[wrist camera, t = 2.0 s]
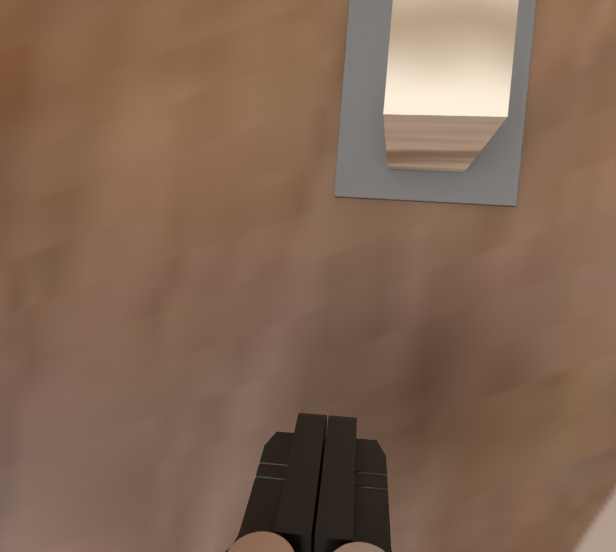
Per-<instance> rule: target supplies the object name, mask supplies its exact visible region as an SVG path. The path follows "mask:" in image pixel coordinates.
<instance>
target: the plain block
mask: <svg viewBox="0 0 616 552" xmlns="http://www.w3.org/2000/svg"><path fill="white" fill-rule="evenodd" d="M518 3H519V0H393V4H392V16H391V28H390V40H389V52H388V64H387V76H386V87H385V99H384V111H383V117H384V130H385V143H386V156H387V169H398V170H422V171H445V172H465V171H466V169H467V168H468V167H469V165H470V164H471V163H472V162H473V160H474V159H475V158H476V157H477V155H478V154H479V153H480V151H481V150H482V149H483V148H484V146H485V145H486V144H487V143H488V141H489V140H490V139H491V137H492V136H493V135H494V134H495V132H496V131H497V130H498V128H499V127H500V126H501V125H502V123H503V122H504V121H505V120H506V118H507V117H508V108H509V97H510V87H511V76H512V66H513V55H514V45H515V35H516V24H517V14H518Z"/></svg>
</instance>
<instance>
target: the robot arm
mask: <svg viewBox="0 0 616 552" xmlns="http://www.w3.org/2000/svg"><path fill="white" fill-rule="evenodd" d="M356 423H357V418H353V417H341V416H329V418H328V426H327V415H318V414H306V413H299V414H298V418H297V423H296V428H295V432H294V433H287V432H276V433H275V434H274V435H273V437H272V438H271V439H270V440H269V441H268V442H267V443H266V444H265V446H264V449H263V453H262V456H261V460H260V465H259V467H258V470H257V474H256V479H255V481H254V484H253V487H252V491H251V494H250V498H249V501H248V505H247V508H246V512H245V515H244V519H243V522H242V525H241V529H240V532H239V534H238V537H237V538H236V540H235V542H234V543H233V544H232V546H231V547H230V548H229V549H228V550H227V551H226V552H392V551H391V539H390V522H389V504H388V486H387V468H386V456H385V454H384V452H383V451H382V449H381V447H380V445H379V444H378V442H377V440H365V439H356ZM326 429H327V435H326Z"/></svg>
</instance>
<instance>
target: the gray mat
mask: <svg viewBox="0 0 616 552" xmlns="http://www.w3.org/2000/svg"><path fill="white" fill-rule="evenodd" d="M392 4H393V0H350V1H349V14H348V26H347V39H346V51H345V64H344V77H343V89H342V102H341V115H340V127H339V140H338V152H337V165H336V178H335V190H334V196H335V197H345V198H364V199H382V200H401V201H419V202H438V203H456V204H474V205H493V206H511V207H515V206H516V204H517V193H518V183H519V173H520V163H521V152H522V142H523V132H524V122H525V111H526V101H527V91H528V81H529V70H530V60H531V50H532V39H533V29H534V19H535V9H536V0H519V3H518V14H517V24H516V35H515V45H514V55H513V66H512V76H511V87H510V97H509V108H508V117H507V118H506V120H505V121H504V122H503V123H502V125H501V126H500V127H499V128H498V130H497V131H496V132H495V134H494V135H493V136H492V137H491V139H490V140H489V141H488V143H487V144H486V145H485V146H484V148H483V149H482V150H481V151H480V153H479V154H478V155H477V157H476V158H475V159H474V160H473V162H472V163H471V164H470V165H469V167H468V168H467V169H466V171H465V172H445V171H422V170H398V169H387V156H386V143H385V130H384V117H383V111H384V99H385V87H386V76H387V64H388V52H389V40H390V28H391V16H392Z"/></svg>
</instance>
